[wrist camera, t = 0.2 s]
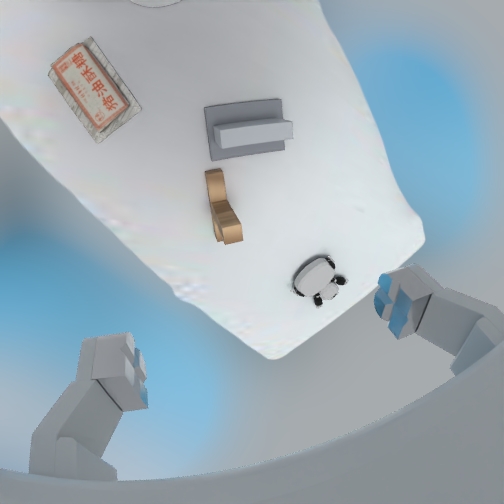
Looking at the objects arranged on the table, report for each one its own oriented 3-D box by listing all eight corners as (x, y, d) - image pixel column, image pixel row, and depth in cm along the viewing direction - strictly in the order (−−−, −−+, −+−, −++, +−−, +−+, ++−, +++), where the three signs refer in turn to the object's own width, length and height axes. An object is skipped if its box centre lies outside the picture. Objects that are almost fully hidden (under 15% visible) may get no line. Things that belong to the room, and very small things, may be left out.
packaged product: (38, 72, 31) (85, 32, 31) (48, 73, 35) (92, 37, 35) (93, 148, 41) (141, 110, 41) (99, 143, 45) (143, 109, 45)
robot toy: (345, 273, 79) (319, 245, 70) (354, 283, 75) (329, 255, 66) (312, 303, 81) (282, 280, 72) (320, 314, 78) (290, 292, 68)
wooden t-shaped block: (204, 171, 54) (217, 194, 43) (220, 168, 54) (237, 190, 43) (215, 236, 61) (229, 272, 50) (229, 233, 62) (246, 268, 51)
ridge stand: (204, 107, 47) (210, 109, 41) (279, 99, 50) (296, 101, 43) (211, 159, 53) (218, 170, 46) (282, 148, 55) (299, 157, 49)
